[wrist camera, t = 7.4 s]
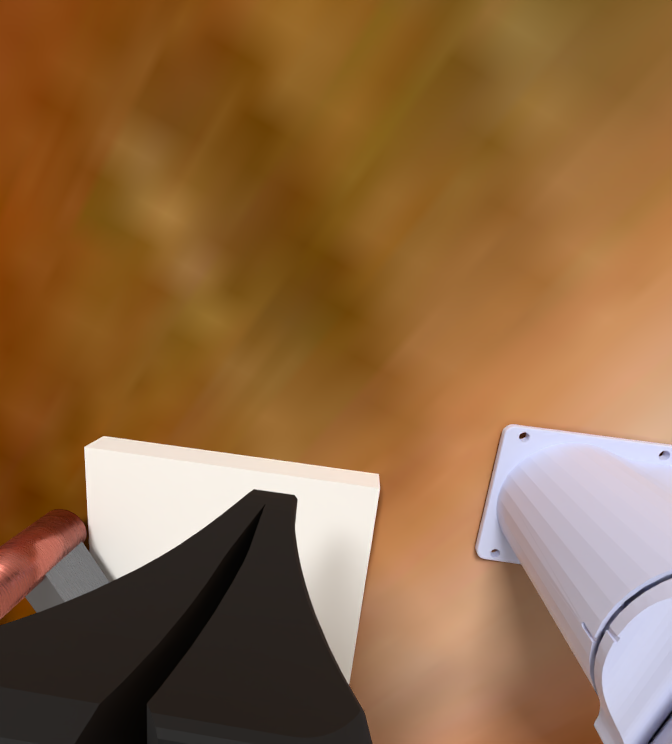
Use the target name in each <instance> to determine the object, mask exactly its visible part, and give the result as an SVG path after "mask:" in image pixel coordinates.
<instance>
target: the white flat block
mask: <svg viewBox="0 0 672 744" xmlns="http://www.w3.org/2000/svg"><path fill="white" fill-rule="evenodd" d="M84 449H85V469H86V489H87V510H88V530H89V550H90V554H91V556H92V557H93V559H94V560H95V562H96V563H97V564H98V566H99V567H100V569H101V570H102V572H103V573H104V575H105V576H106V578H107V579H108V581H109V582H111V581H113V580H116V579H118V578H120V577H122V576H124V575H126V574H128V573H130V572H132V571H134V570H136V569H138V568H140V567H142V566H144V565H146V564H147V563H149V562H151V561H153V560H154V559H156V558H158V557H160V556H162V555H163V554H165V553H167V552H168V551H170V550H172V549H173V548H175V547H176V546H178V545H180V544H181V543H183V542H184V541H185V540H187V539H188V538H190V537H191V536H193V535H194V534H196V533H197V532H199V531H200V530H202V529H203V528H204V527H206V526H207V525H208V524H210V523H211V522H212V521H214V520H215V519H216V518H218V517H219V516H220V515H222V514H223V513H224V512H225V511H227V510H228V509H229V508H230V507H232V506H233V505H234V504H235V503H237V502H238V501H239V500H240V499H242V498H243V497H244V496H245V495H247V494H248V493H249V492H251V491H252V490H253V489H257V490H264V491H271V492H278V493H285V494H292V495H295V496H296V497H297V499H298V502H297V512H296V522H295V533H296V541H297V548H298V554H299V559H300V563H301V568H302V572H303V576H304V580H305V583H306V587H307V590H308V593H309V597H310V600H311V602H312V605H313V608H314V611H315V614H316V616H317V619H318V621H319V624H320V626H321V628H322V631H323V633H324V635H325V638H326V640H327V642H328V645H329V647H330V649H331V651H332V653H333V655H334V658H335V660H336V662H337V664H338V666H339V668H340V670H341V672H342V674H343V675H344V677H345V679H346V681H347V683H348V685H349V683H350V677H351V670H352V664H353V657H354V651H355V645H356V638H357V632H358V626H359V619H360V613H361V607H362V600H363V594H364V587H365V581H366V575H367V568H368V562H369V556H370V549H371V543H372V536H373V530H374V524H375V517H376V511H377V505H378V498H379V492H380V482H379V474H374V473H367V472H360V471H353V470H345V469H338V468H331V467H324V466H316V465H309V464H302V463H295V462H287V461H280V460H273V459H266V458H258V457H251V456H244V455H237V454H229V453H222V452H215V451H208V450H200V449H193V448H186V447H179V446H171V445H164V444H157V443H150V442H142V441H135V440H128V439H121V438H114V437H106V436H103V437H101V438H100V439H98V440H96V441H94V442H93V443H91V444H89V445H87V446H85V447H84Z"/></svg>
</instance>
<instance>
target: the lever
mask: <svg viewBox="0 0 672 744" xmlns="http://www.w3.org/2000/svg"><path fill="white" fill-rule="evenodd" d="M85 540H86V528H85V525H84V523H83V522H82V520H81V519H80V518H79V517H78V516H77V515H75V514H74V513H72V512H70V511H67V510H63V509H56V510H52V511H50V512H48V513H47V514H46V515H44V516H43V517H41V518H40V519H39V520H37V521H36V522H34V523H33V524H32V525H30V526H29V527H27V528H26V529H24V530H23V531H22V532H20V533H19V534H17V535H16V536H15V537H13V538H12V539H10V540H9V541H8V542H6V543H5V544H3V545H2V546H0V619H1V618H2V617H3V616H4V615H6V614H7V613H8V612H9V611H10V610H11V609H12V608H13V607H14V606H15V605H17V604H18V603H19V602H20V601H21V600H22V599H23V598H24V597H26V598H27V600H28V601H29V603H30V604H31V605H32V607H33V608H34V609H35V611H36V612H37V613H38V612H41V611H43V610H46V609H48V608H51V607H54V606H56V605H59V604H61V603H64V602H66V601H69V600H71V599H74V598H76V597H78V596H81V595H83V594H86V593H88V592H90V591H92V590H95V589H97V588H99V587H101V586H103V585H105V584H107V583H109V581H108V579H107V578H106V576H105V575H104V573H103V572H102V570H101V569H100V567H99V566H98V564H97V563H96V562H95V560H94V559H93V557H92V556H91V554H90V553H89V551H88V550H87V548H86V547H85V545H84V544H83V543H84V542H85Z"/></svg>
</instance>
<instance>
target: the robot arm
mask: <svg viewBox="0 0 672 744" xmlns="http://www.w3.org/2000/svg"><path fill="white" fill-rule="evenodd" d="M523 432H526V436H525V437H524V438H523V439H519V436H520V434H521V433H523ZM662 451H664V453H663V454H662V455H661V456H660V457H659V454H660V453H661V452H662ZM297 502H298V499H297V497H296V496H295V495H292V494H285V493H278V492H271V491H264V490H257V489H253V490H252V491H251V492H249V493H248V494H247V495H245V496H244V497H243V498H242V499H240V500H239V501H238V502H237V503H235V504H234V505H233V506H232V507H230V508H229V509H228V510H227V511H225V512H224V513H223V514H222V515H220V516H219V517H218V518H216V519H215V520H214V521H212V522H211V523H210V524H208V525H207V526H206V527H204V528H203V529H202V530H200V531H199V532H197V533H196V534H194V535H193V536H191V537H190V538H188V539H187V540H185V541H184V542H183V543H181V544H180V545H178V546H176V547H175V548H173V549H172V550H170V551H168V552H167V553H165V554H163V555H162V556H160V557H158V558H156V559H154V560H153V561H151V562H149V563H147V564H146V565H144V566H142V567H140V568H138V569H136V570H134V571H132V572H130V573H128V574H126V575H124V576H122V577H120V578H118V579H116V580H113V581H111V582H109V583H107V584H105V585H103V586H101V587H99V588H97V589H95V590H92V591H90V592H88V593H86V594H83V595H81V596H78V597H76V598H74V599H71V600H69V601H66V602H64V603H61V604H59V605H56V606H54V607H51V608H48V609H46V610H43V611H41V612H38V613H35V614H33V615H30V616H27V617H24V618H22V619H19V620H16V621H13V622H9V623H6V624H3V625H0V744H372V740H371V736H370V732H369V729H368V725H367V721H366V717H365V713H364V711H363V709H362V707H361V705H360V704H359V702H358V700H357V699H356V697H355V695H354V694H353V692H352V690H351V688H350V686H349V685H348V683H347V681H346V679H345V677H344V675H343V674H342V672H341V670H340V668H339V666H338V664H337V662H336V660H335V658H334V655H333V653H332V651H331V649H330V647H329V645H328V642H327V640H326V638H325V635H324V633H323V631H322V628H321V626H320V624H319V621H318V619H317V616H316V614H315V611H314V608H313V605H312V602H311V600H310V597H309V593H308V590H307V587H306V583H305V580H304V576H303V572H302V568H301V563H300V559H299V554H298V548H297V541H296V533H295V522H296V512H297ZM494 549H497V551H495V552H491V551H492V550H494ZM475 550H476V552H477V554H478V556H479V557H480V558H483V559H488V560H495V561H502V562H509V563H515V564H521V565H522V566H523V568H524V570H525V571H526V573H527V575H528V577H529V578H530V580H531V582H532V583H533V585H534V587H535V589H536V590H537V592H538V594H539V595H540V597H541V599H542V601H543V602H544V604H545V606H546V607H547V609H548V611H549V613H550V614H551V616H552V618H553V620H554V621H555V623H556V625H557V626H558V628H559V630H560V632H561V633H562V635H563V637H564V638H565V640H566V642H567V644H568V645H569V647H570V649H571V650H572V652H573V654H574V656H575V657H576V659H577V661H578V662H579V664H580V666H581V668H582V669H583V671H584V673H585V674H586V676H587V678H588V680H589V681H590V683H591V685H592V686H593V688H594V690H595V692H596V693H597V695H598V697H599V700H600V711H599V715H598V717H597V719H596V721H595V723H594V727H595V729H596V730H597V732H598V734H599V736H600V738H601V740H602V742H603V744H672V445H669V444H661V443H654V442H646V441H638V440H631V439H623V438H615V437H608V436H600V435H592V434H584V433H577V432H569V431H561V430H554V429H546V428H538V427H531V426H523V425H515V424H510V425H508V426H506V427H505V428H504V429H503V431H502V435H501V439H500V443H499V447H498V452H497V456H496V460H495V465H494V469H493V473H492V477H491V482H490V486H489V490H488V495H487V499H486V503H485V507H484V512H483V516H482V520H481V524H480V529H479V533H478V537H477V542H476V546H475Z"/></svg>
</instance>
